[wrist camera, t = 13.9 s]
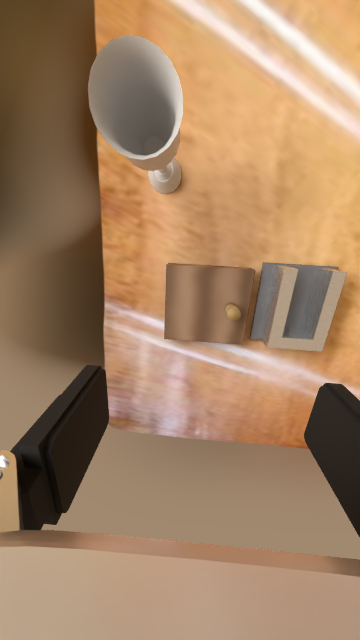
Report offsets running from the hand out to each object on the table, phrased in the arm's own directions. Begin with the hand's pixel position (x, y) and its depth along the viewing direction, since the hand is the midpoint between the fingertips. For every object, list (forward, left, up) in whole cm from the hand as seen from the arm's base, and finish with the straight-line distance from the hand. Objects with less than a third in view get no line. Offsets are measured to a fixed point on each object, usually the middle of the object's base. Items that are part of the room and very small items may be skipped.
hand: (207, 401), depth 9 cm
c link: (-17, +3, -30) cm, 34 cm away
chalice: (+6, -16, -31) cm, 35 cm away
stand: (-2, +3, -30) cm, 31 cm away
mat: (-17, +3, -30) cm, 35 cm away
